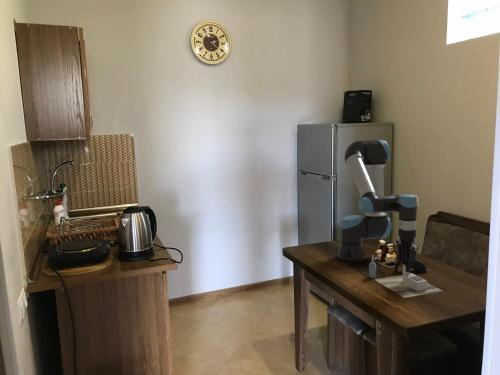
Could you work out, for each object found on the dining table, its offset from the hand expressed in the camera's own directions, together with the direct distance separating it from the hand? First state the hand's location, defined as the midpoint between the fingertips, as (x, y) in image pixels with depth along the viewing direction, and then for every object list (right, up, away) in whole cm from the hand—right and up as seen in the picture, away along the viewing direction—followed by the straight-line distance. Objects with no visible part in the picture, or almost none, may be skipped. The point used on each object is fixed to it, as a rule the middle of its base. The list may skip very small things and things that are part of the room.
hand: (406, 277), depth 189 cm
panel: (-1, -3, -3) cm, 5 cm away
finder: (+2, -3, -5) cm, 6 cm away
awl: (-13, -2, +7) cm, 15 cm away
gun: (+8, 0, +13) cm, 16 cm away
